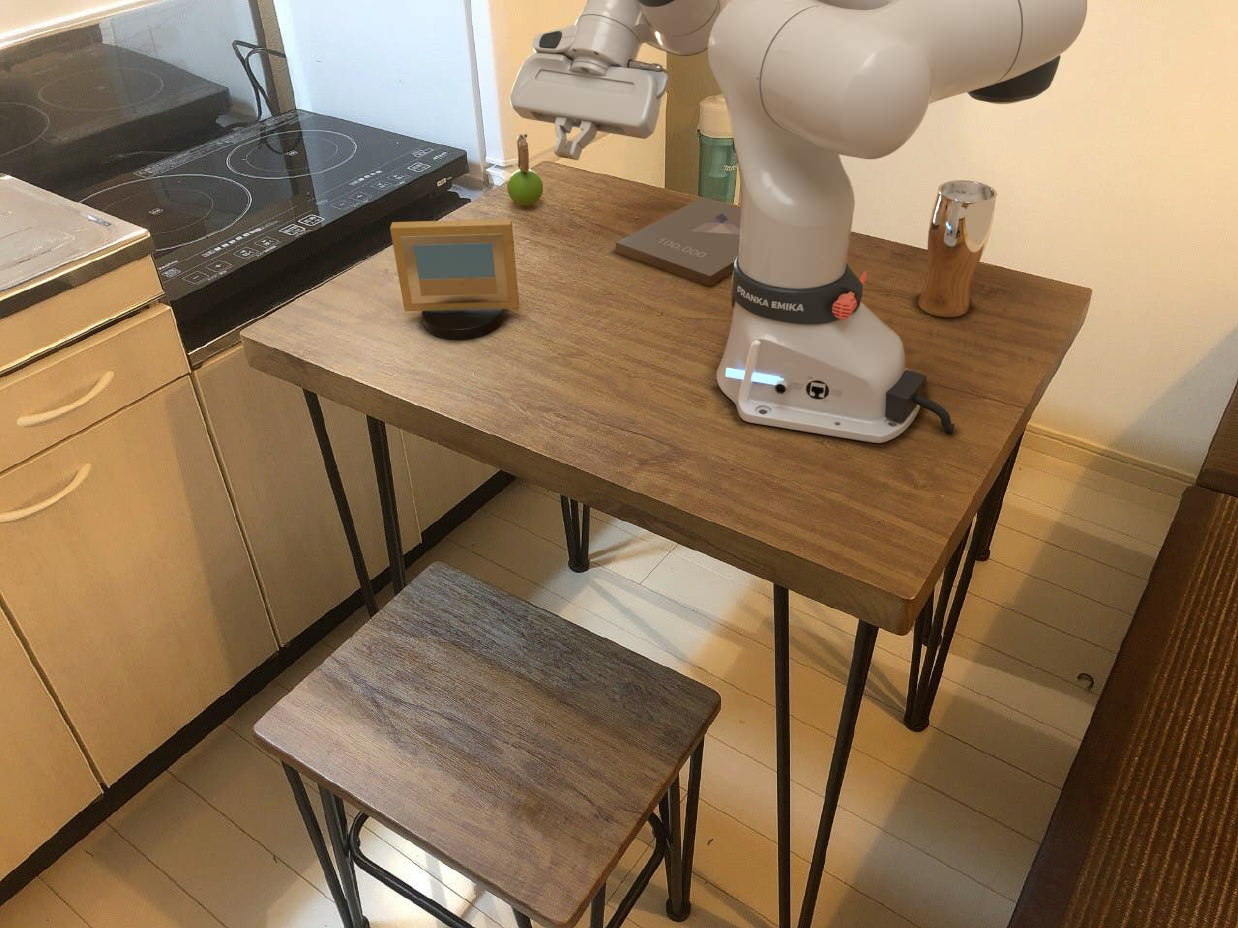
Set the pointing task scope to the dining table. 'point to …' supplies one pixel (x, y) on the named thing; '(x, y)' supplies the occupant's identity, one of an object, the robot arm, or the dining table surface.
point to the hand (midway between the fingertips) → (565, 156)
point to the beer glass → (956, 245)
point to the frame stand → (462, 323)
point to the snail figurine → (524, 178)
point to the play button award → (690, 241)
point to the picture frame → (456, 264)
